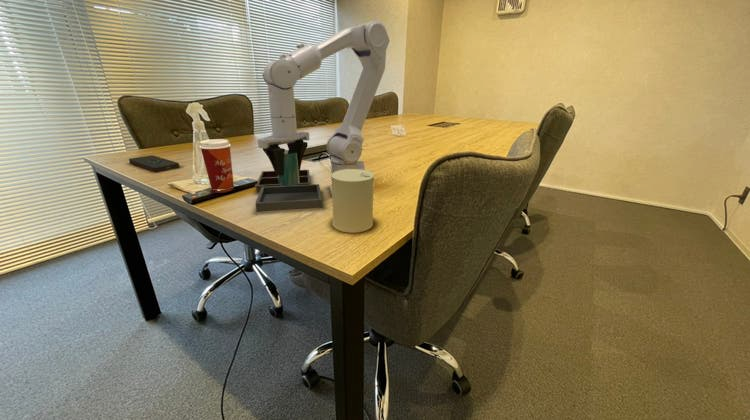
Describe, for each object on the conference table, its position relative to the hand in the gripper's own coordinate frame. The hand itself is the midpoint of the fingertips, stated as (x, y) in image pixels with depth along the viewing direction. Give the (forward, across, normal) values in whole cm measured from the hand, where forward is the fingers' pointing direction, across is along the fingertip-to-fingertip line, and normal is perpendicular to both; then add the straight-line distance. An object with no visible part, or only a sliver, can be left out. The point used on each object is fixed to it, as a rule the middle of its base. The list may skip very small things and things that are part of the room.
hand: (288, 172), depth 77 cm
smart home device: (+8, +3, -65) cm, 66 cm away
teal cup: (+3, 0, 0) cm, 3 cm away
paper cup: (+8, +5, -22) cm, 24 cm away
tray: (+8, 0, 0) cm, 8 cm away
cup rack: (+8, -9, -12) cm, 17 cm away
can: (+8, +1, +21) cm, 23 cm away
